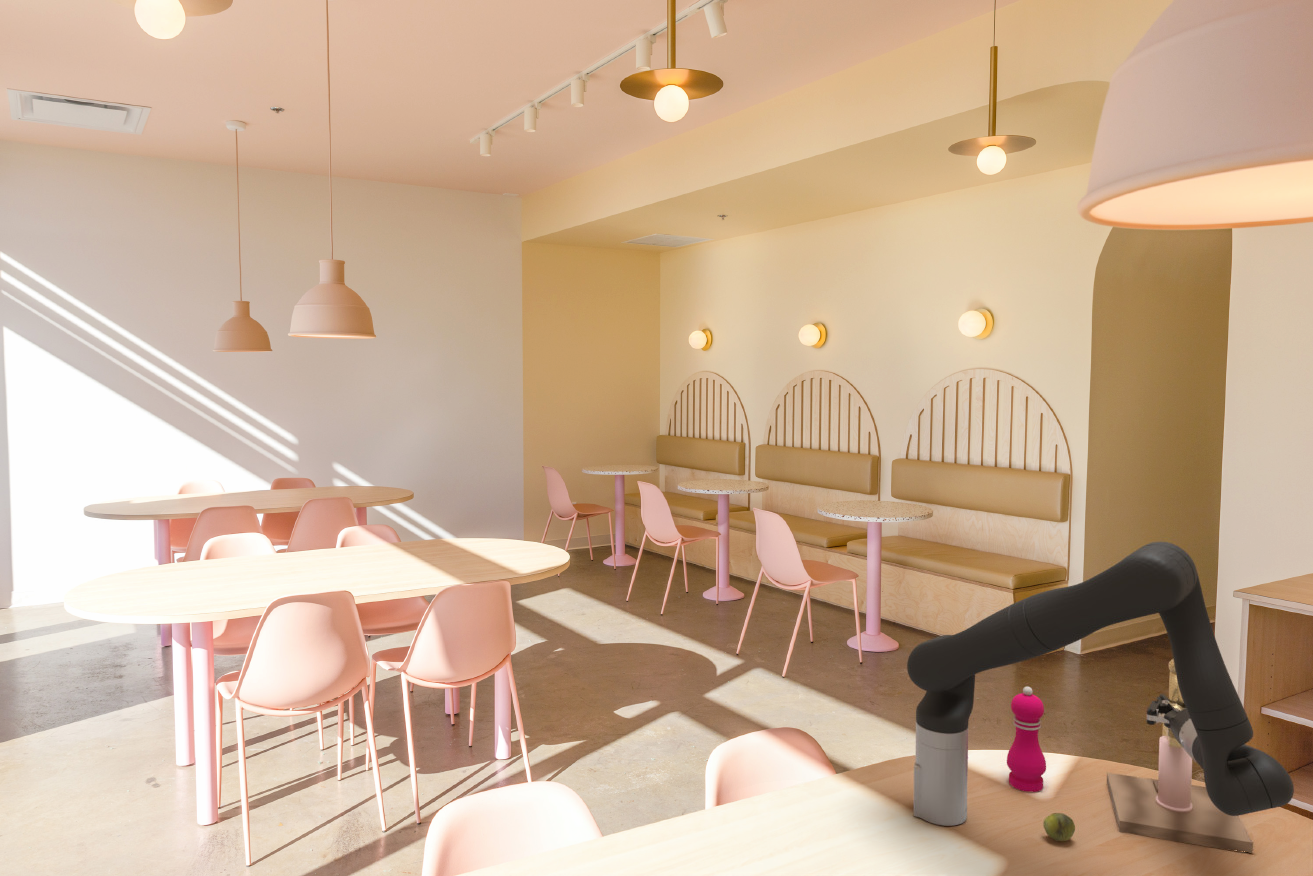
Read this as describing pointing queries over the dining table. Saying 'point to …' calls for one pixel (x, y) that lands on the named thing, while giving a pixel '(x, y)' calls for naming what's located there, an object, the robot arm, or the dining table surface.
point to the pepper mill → (1026, 743)
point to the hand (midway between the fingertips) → (1171, 700)
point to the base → (1174, 816)
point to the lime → (1059, 826)
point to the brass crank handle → (1174, 698)
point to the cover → (1174, 778)
